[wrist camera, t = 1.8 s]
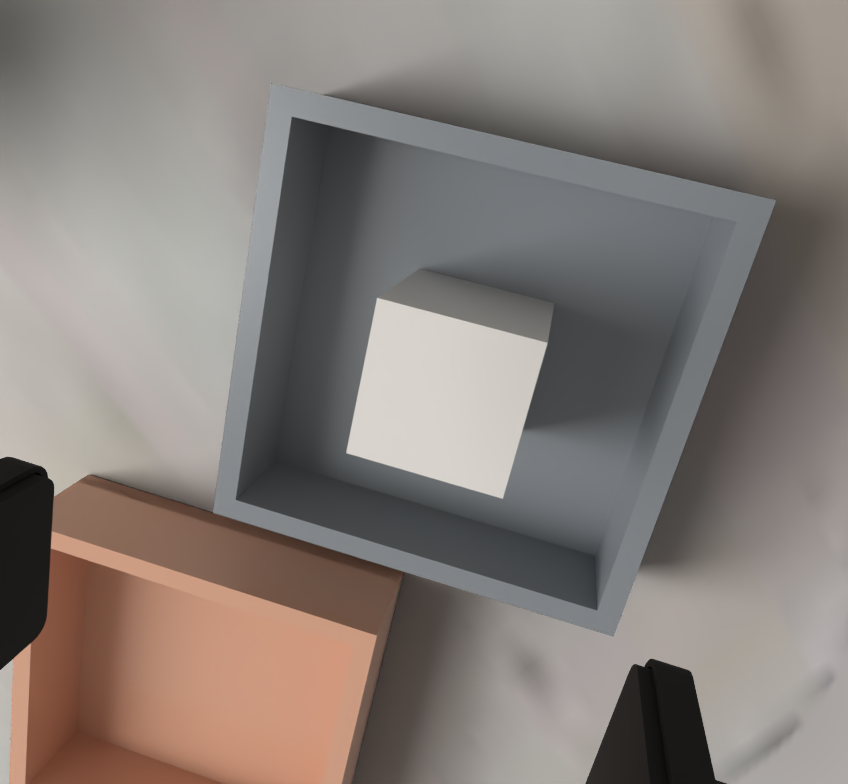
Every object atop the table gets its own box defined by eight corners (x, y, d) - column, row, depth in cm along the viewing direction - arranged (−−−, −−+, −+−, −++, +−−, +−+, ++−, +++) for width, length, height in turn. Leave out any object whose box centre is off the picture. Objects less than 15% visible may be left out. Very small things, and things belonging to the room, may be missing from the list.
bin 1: (88, 474, 33) (17, 520, 29) (403, 572, 31) (376, 635, 27) (71, 726, 38) (8, 796, 34) (342, 823, 37) (311, 909, 32)
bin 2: (320, 95, 26) (270, 82, 22) (742, 193, 24) (776, 200, 20) (261, 465, 31) (212, 512, 27) (608, 568, 30) (613, 636, 25)
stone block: (419, 268, 27) (377, 297, 21) (554, 303, 26) (547, 342, 20) (392, 394, 28) (346, 453, 23) (518, 429, 28) (502, 498, 22)
